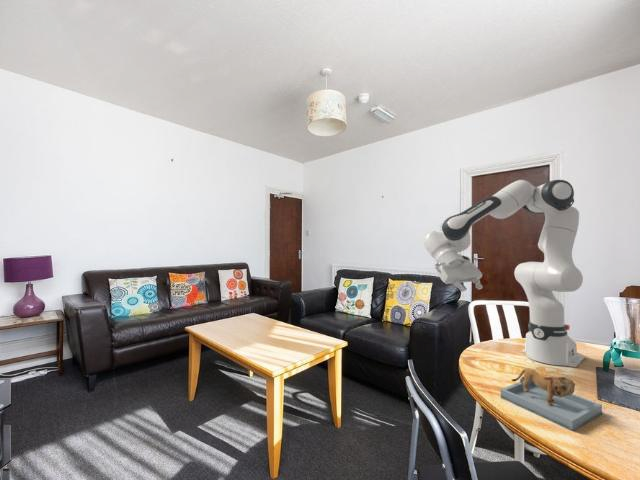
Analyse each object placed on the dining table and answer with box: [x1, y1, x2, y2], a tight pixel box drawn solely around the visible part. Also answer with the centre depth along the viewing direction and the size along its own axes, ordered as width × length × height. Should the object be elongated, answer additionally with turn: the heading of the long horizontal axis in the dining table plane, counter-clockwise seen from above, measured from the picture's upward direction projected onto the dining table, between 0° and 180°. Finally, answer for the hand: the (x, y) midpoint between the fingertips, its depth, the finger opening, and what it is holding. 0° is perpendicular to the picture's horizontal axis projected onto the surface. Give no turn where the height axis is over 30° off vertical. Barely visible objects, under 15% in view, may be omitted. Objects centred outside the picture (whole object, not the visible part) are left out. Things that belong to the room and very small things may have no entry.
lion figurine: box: [511, 367, 576, 406], centre depth 86 cm, size 15×5×9 cm, turn 38°
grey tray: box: [500, 380, 603, 432], centre depth 84 cm, size 16×18×2 cm
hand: (472, 289), depth 112 cm, fingers open, 8 cm apart
